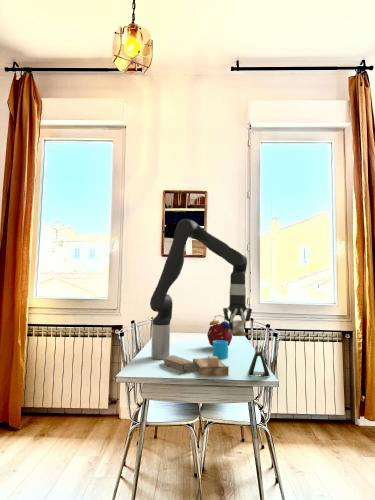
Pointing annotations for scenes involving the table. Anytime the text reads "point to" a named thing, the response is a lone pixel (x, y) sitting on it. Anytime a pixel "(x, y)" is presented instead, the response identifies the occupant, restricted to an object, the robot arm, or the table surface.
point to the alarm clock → (219, 331)
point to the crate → (213, 361)
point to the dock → (209, 368)
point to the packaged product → (178, 364)
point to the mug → (220, 349)
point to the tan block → (237, 328)
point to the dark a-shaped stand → (251, 369)
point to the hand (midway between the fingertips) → (237, 330)
